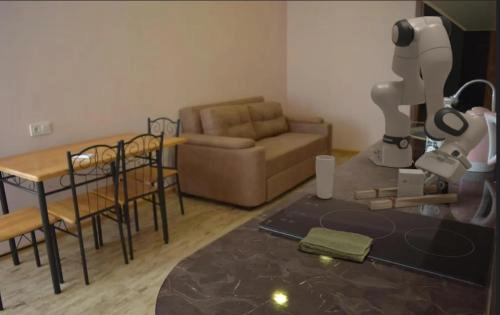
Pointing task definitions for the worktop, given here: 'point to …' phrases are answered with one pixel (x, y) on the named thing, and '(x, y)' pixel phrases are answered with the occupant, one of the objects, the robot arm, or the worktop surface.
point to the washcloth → (336, 244)
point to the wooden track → (403, 201)
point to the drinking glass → (325, 175)
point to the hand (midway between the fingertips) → (423, 183)
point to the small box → (410, 183)
